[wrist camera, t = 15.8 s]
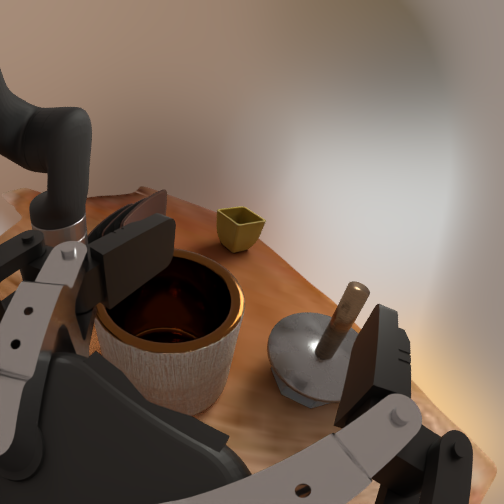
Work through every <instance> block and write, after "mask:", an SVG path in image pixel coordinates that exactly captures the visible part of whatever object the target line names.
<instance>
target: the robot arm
mask: <svg viewBox="0 0 504 504" xmlns="http://www.w3.org/2000/svg"><path fill="white" fill-rule="evenodd" d="M91 141H92V127H91V122H90V118H89V116H88V114H87V112H86V111H85V110H83V109H82V108H78V107H58V108H57V107H56V108H40V107H37V106H34V105H32V104H29V103H27V102H26V101H24V100H22V99H21V98H19V97H17V96H16V95H14V94H13V93H12V92H11V91H10V90H9V89H8V87H7V86H6V83H5V81H4V78H3V75H2V72H1V69H0V154H1V155H2V156H4V157H6V158H8V159H9V160H11V161H13V162H14V163H16V164H18V165H20V166H21V167H23V168H25V169H27V170H30V171H34V172H40V173H48V185H47V191H45V192H43V193H41V194H39V195H38V196H36V197H35V198H34V199H33V200H32V201H31V203H30V208H29V210H30V219H31V225H32V230H28V231H25V232H22V233H20V234H19V235H17V236H15V237H13V238H11V239H10V240H8V241H6V242H4V243H2V244H1V245H0V282H1V281H3V280H4V279H5V278H7V277H8V276H10V275H11V274H13V273H14V272H16V271H18V270H19V269H20V272H21V275H22V279H23V281H22V282H21V283H20V285H19V286H18V288H17V290H16V291H14V292H13V293H12V294H10V295H9V296H8V297H6V298H5V299H3V300H2V301H1V300H0V504H346V503H347V502H349V501H350V500H351V499H353V498H354V497H355V496H356V495H358V494H359V493H360V492H362V491H363V490H364V489H365V488H366V487H367V486H368V485H369V484H370V483H371V482H372V479H373V480H375V481H376V482H378V483H380V484H381V485H380V488H379V491H378V495H377V498H376V501H375V504H469V497H470V489H471V479H472V463H473V449H472V445H471V443H470V440H469V439H468V437H467V436H466V435H465V434H464V433H462V432H460V431H457V430H452V431H449V432H447V433H446V434H444V435H443V436H442V437H440V436H439V435H437V434H436V433H434V432H432V431H431V430H429V429H428V428H426V427H425V426H423V425H422V416H421V412H420V410H419V408H418V406H417V405H416V403H415V402H414V401H413V400H412V399H411V365H410V363H411V358H410V357H411V356H410V341H409V339H408V337H407V335H406V332H405V330H403V329H401V328H398V314H397V311H395V310H393V309H390V308H388V307H385V306H383V305H381V304H377V305H376V306H375V308H374V309H373V311H372V313H371V315H370V317H369V318H368V319H367V321H366V323H365V324H364V326H363V328H362V329H361V331H360V332H359V334H358V336H357V338H356V340H355V342H354V344H353V347H352V350H351V355H350V360H349V365H348V370H347V374H346V379H345V383H344V388H343V392H342V396H341V400H340V404H339V408H338V411H337V415H336V419H335V422H334V426H337V427H340V428H343V429H341V430H340V431H338V432H337V433H335V434H334V433H332V434H330V435H328V436H326V437H324V438H323V439H321V440H319V441H317V442H316V443H314V444H312V445H311V446H309V447H307V448H305V449H304V450H302V451H300V452H298V453H296V454H294V455H293V456H291V457H289V458H287V459H285V460H283V461H281V462H279V463H277V464H275V465H273V466H271V467H268V468H266V469H264V470H262V471H260V472H258V473H255V474H253V475H252V474H251V473H250V471H249V469H248V468H247V466H246V465H245V464H244V462H243V461H242V460H241V458H240V457H239V456H238V455H237V454H236V453H235V452H234V451H233V450H231V449H230V448H229V447H228V446H227V445H226V443H227V441H228V439H229V436H228V435H226V434H224V433H222V432H220V431H218V430H216V429H214V428H212V427H210V426H209V425H207V424H205V423H203V422H201V421H199V420H197V419H196V418H194V417H192V416H189V415H186V414H183V413H180V412H177V411H174V410H171V409H168V408H165V407H162V406H159V405H157V404H154V403H151V402H149V401H148V400H146V399H145V398H144V397H143V395H142V394H141V393H140V392H139V391H138V390H137V389H136V387H135V386H134V385H133V384H132V383H131V381H130V380H129V379H128V378H127V377H126V375H125V374H124V373H123V372H122V371H121V370H120V369H118V368H117V367H116V366H114V365H113V364H112V363H110V362H109V361H108V360H107V359H105V358H104V357H103V356H102V355H100V354H99V353H98V352H97V351H95V352H94V353H93V354H92V355H90V356H89V345H90V340H91V335H92V330H93V325H94V321H95V316H96V311H97V309H96V305H97V304H98V303H101V304H103V305H104V306H106V307H107V308H108V309H112V308H113V307H114V306H115V305H117V304H118V303H119V302H121V301H122V300H123V299H125V298H126V297H127V296H129V295H130V294H131V293H133V292H134V291H135V290H137V289H138V288H139V287H141V286H142V285H143V284H145V283H146V282H147V281H149V280H150V279H151V278H153V277H154V276H155V275H157V274H158V273H160V272H161V271H162V270H164V269H165V268H166V267H167V266H168V265H169V264H170V262H171V260H172V257H173V252H174V239H175V227H176V224H175V221H174V219H172V218H169V217H167V216H164V215H162V214H159V213H155V214H153V215H151V216H149V217H147V218H145V219H143V220H140V221H136V222H131V223H129V224H127V225H125V226H123V227H121V229H120V228H119V229H117V230H115V231H114V232H113V233H112V232H111V233H109V234H107V235H105V236H103V237H101V238H99V239H97V240H95V241H93V242H91V243H90V244H88V238H87V227H86V213H85V212H86V211H85V203H86V198H87V193H88V185H89V165H90V153H91Z"/></svg>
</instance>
